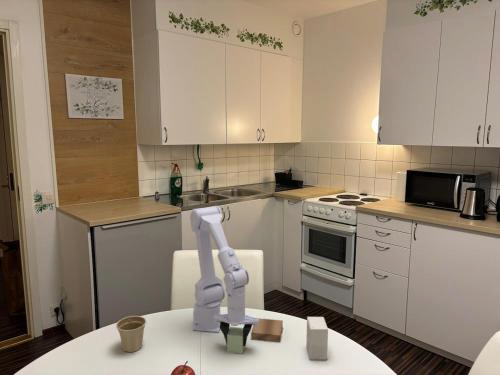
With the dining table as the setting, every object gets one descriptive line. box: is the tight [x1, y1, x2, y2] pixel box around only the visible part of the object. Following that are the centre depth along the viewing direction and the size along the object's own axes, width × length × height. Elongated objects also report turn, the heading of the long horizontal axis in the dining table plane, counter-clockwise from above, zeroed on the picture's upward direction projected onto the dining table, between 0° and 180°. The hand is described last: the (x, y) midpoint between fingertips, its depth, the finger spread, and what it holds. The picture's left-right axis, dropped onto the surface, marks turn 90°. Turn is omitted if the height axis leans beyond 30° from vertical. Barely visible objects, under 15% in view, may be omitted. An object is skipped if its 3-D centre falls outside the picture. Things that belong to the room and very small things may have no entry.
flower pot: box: [115, 315, 147, 353], centre depth 124 cm, size 9×9×9 cm
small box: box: [306, 316, 329, 361], centre depth 121 cm, size 8×6×10 cm
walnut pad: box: [250, 317, 284, 343], centre depth 133 cm, size 10×10×3 cm
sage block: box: [226, 326, 246, 354], centre depth 123 cm, size 5×5×6 cm
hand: (236, 343), depth 124 cm, fingers closed on sage block, 5 cm apart
